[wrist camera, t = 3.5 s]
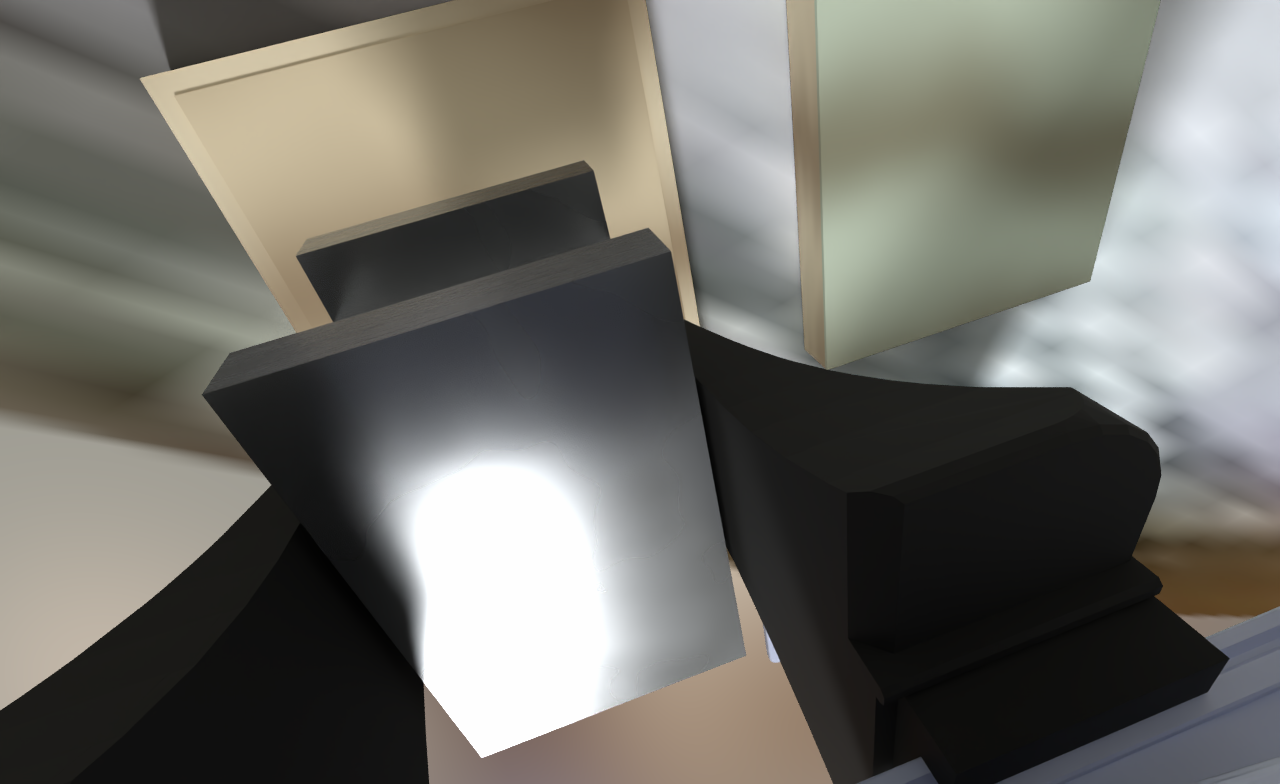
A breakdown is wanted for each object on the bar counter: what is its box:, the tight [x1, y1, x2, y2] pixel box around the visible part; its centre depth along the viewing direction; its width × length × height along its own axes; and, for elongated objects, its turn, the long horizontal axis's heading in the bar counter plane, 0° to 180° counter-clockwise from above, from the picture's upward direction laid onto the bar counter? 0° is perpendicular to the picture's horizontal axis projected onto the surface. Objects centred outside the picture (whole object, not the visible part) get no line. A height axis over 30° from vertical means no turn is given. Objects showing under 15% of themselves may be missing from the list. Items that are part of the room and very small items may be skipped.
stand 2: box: [786, 0, 1161, 370], centre depth 17 cm, size 12×10×2 cm
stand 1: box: [140, 0, 700, 333], centre depth 16 cm, size 12×10×2 cm
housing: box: [202, 160, 746, 757], centre depth 9 cm, size 7×4×5 cm, turn 11°
